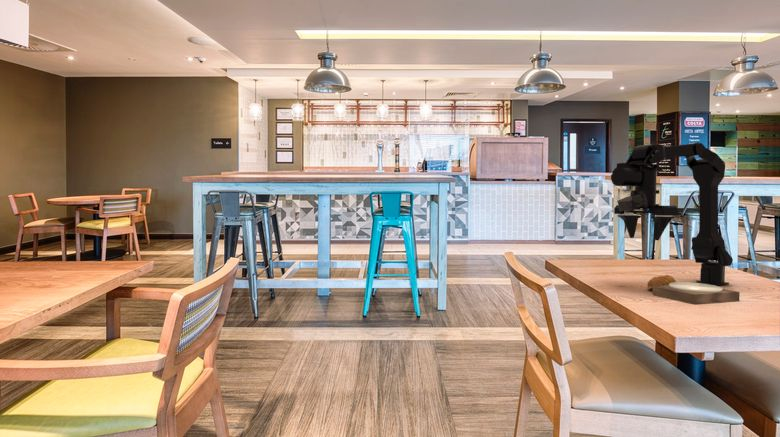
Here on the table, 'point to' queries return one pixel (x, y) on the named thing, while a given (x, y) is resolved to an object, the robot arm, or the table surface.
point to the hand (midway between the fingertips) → (643, 239)
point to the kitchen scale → (695, 293)
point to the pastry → (660, 281)
